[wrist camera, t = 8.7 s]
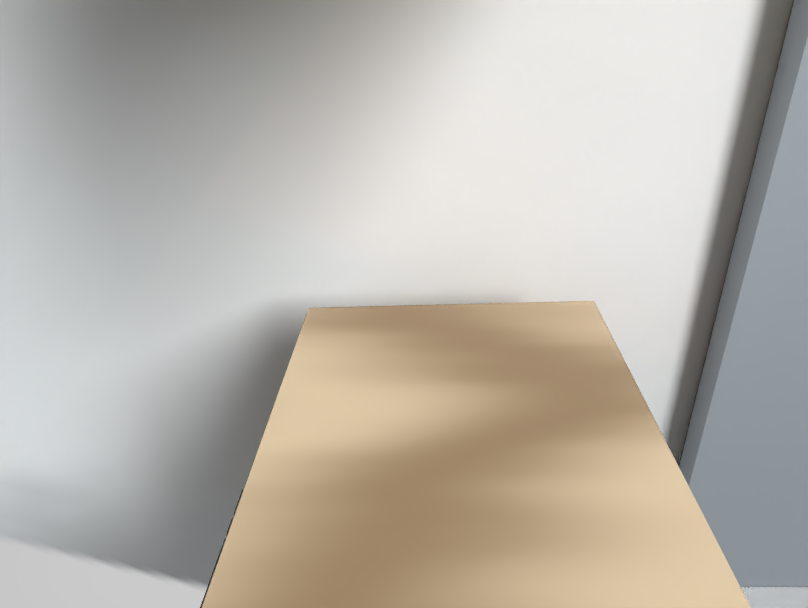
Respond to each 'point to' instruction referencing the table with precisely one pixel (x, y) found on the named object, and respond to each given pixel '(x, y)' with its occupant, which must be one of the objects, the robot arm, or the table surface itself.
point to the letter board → (762, 355)
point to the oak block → (466, 472)
